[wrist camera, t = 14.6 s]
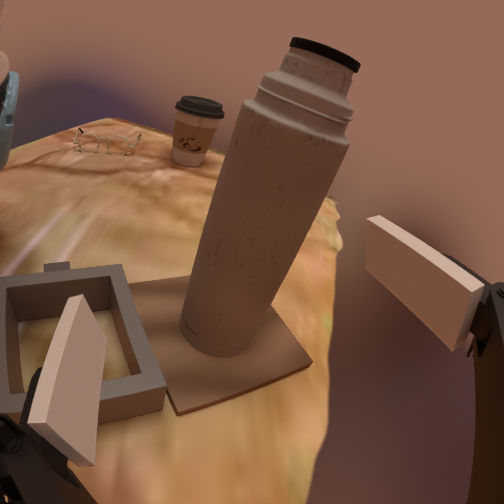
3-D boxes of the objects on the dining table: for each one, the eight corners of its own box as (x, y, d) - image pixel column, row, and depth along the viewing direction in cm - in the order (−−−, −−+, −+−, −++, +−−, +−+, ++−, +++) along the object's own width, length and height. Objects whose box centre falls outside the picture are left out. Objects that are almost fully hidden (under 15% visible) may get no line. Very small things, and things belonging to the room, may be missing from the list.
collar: (6, 295, 25) (-4, 261, 23) (116, 282, 33) (117, 249, 31) (17, 435, 16) (-5, 414, 13) (162, 409, 24) (167, 385, 21)
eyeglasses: (67, 153, 56) (68, 132, 54) (81, 133, 67) (83, 115, 65) (137, 159, 63) (140, 138, 61) (140, 138, 74) (143, 121, 72)
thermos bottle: (171, 301, 33) (251, 24, 17) (235, 295, 37) (333, 58, 21) (192, 362, 28) (315, 30, 12) (263, 349, 32) (404, 83, 16)
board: (126, 289, 33) (126, 283, 33) (241, 273, 42) (243, 267, 42) (177, 415, 24) (178, 412, 23) (309, 366, 33) (313, 361, 32)
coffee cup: (161, 165, 63) (176, 99, 54) (165, 149, 71) (178, 92, 63) (211, 174, 66) (230, 111, 58) (208, 157, 75) (225, 102, 67)
